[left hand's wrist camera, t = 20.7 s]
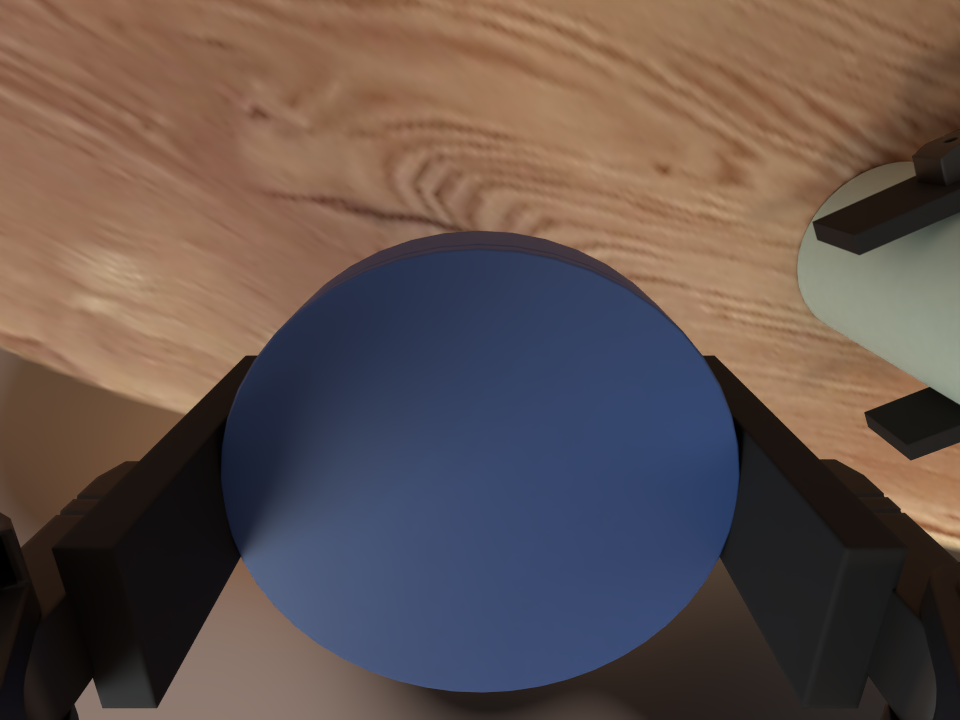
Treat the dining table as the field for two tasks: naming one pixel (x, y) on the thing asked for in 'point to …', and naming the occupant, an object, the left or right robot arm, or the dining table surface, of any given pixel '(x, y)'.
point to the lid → (480, 464)
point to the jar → (891, 288)
